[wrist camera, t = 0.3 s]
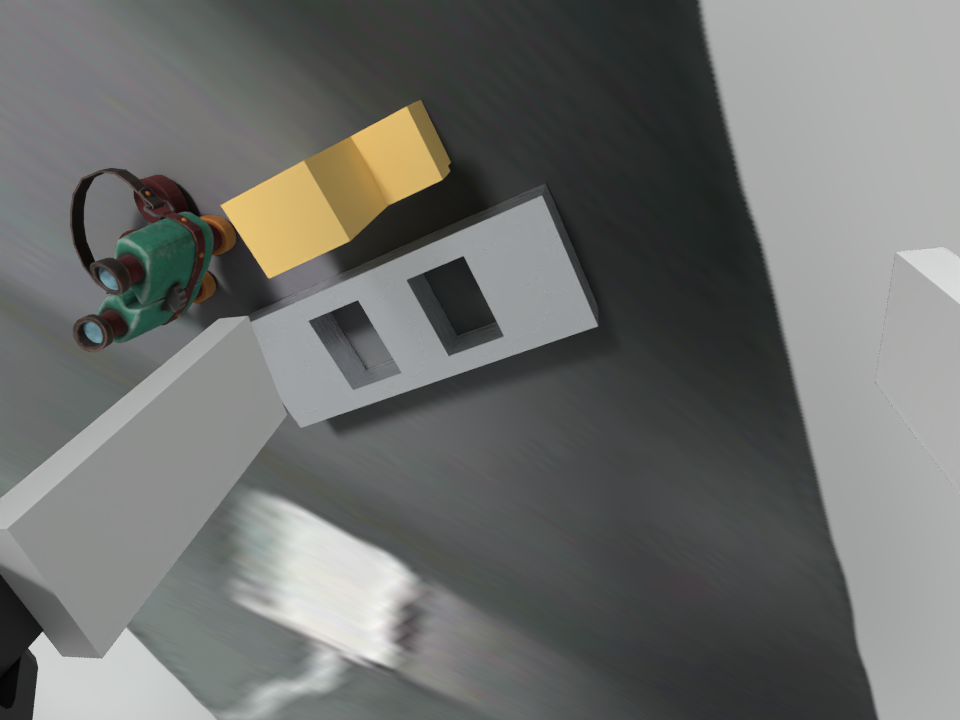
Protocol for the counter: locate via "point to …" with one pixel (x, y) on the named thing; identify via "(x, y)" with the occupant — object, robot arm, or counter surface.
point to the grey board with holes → (429, 310)
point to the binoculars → (148, 262)
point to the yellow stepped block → (338, 190)
